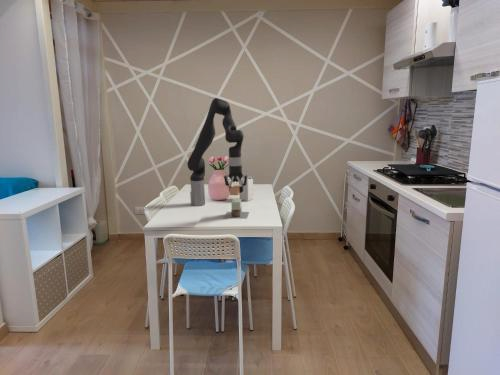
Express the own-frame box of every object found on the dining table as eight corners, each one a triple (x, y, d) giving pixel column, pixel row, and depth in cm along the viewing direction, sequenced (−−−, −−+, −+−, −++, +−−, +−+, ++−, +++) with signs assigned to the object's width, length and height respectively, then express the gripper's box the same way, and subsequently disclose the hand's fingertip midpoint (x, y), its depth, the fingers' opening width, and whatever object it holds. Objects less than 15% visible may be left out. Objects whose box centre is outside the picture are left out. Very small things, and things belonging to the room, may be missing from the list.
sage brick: (231, 209, 215) (231, 202, 214) (233, 206, 223) (232, 198, 222) (240, 209, 215) (239, 202, 214) (241, 206, 223) (241, 198, 222)
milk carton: (248, 201, 258) (247, 175, 254) (239, 200, 262) (238, 174, 258) (253, 199, 264) (252, 173, 260) (245, 198, 268) (244, 172, 264)
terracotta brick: (229, 195, 214) (229, 187, 213) (234, 192, 222) (234, 184, 221) (237, 195, 213) (237, 188, 212) (242, 192, 220) (242, 185, 219)
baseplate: (223, 220, 214) (223, 218, 214) (227, 214, 228) (227, 211, 227) (246, 221, 213) (246, 218, 212) (249, 214, 226) (249, 211, 226)
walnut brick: (231, 216, 216) (231, 209, 215) (233, 213, 224) (233, 206, 223) (239, 216, 216) (239, 209, 215) (241, 213, 223) (241, 206, 222)
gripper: (222, 165, 211) (223, 194, 214) (246, 165, 209) (247, 194, 213) (224, 163, 218) (225, 191, 221) (248, 163, 216) (248, 191, 220)
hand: (236, 192), depth 217 cm, fingers closed on terracotta brick, 5 cm apart
